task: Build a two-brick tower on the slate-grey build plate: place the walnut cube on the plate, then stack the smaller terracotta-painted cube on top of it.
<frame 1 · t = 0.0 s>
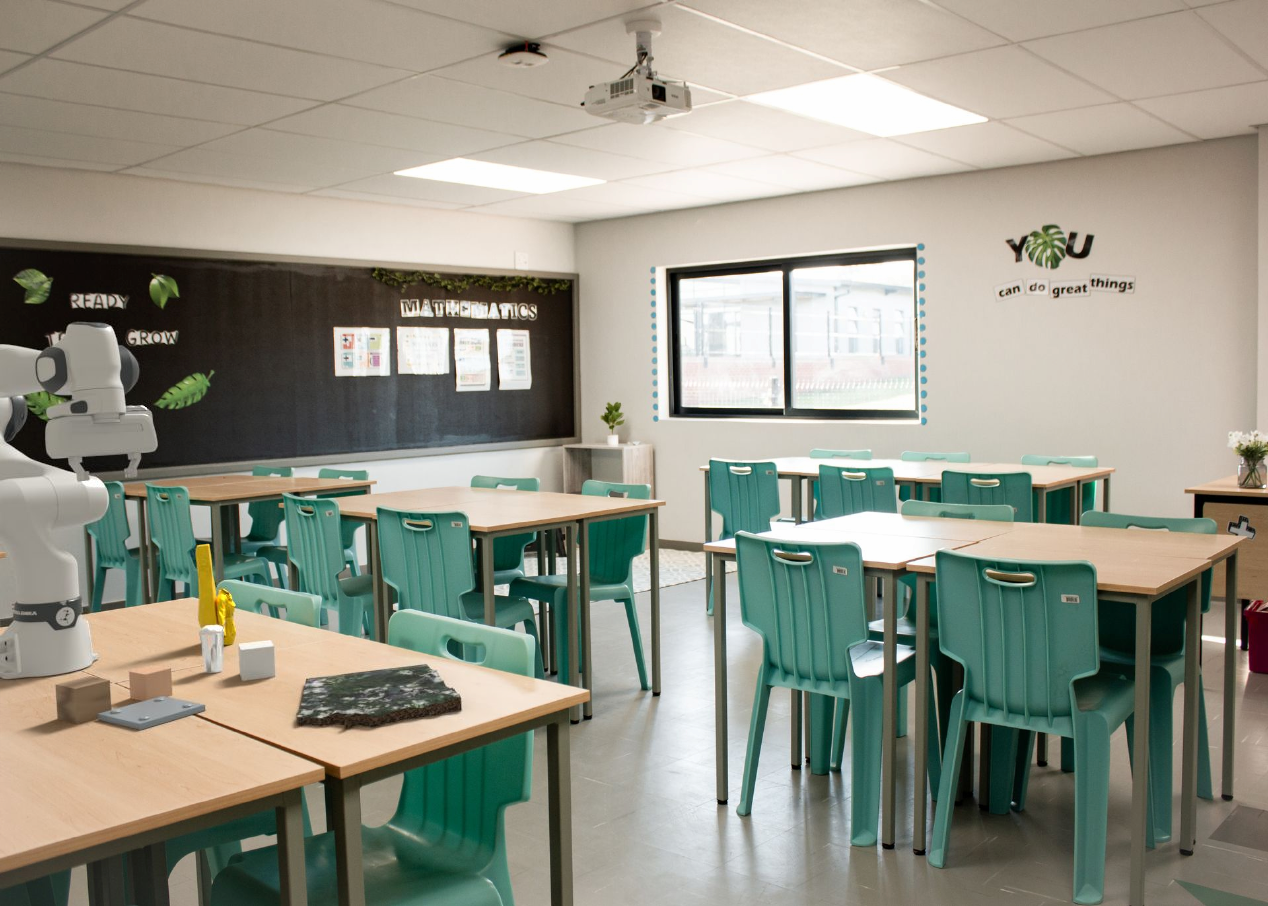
hand: (107, 479, 201), 39 cm above the table, tool pointing down, fingers open, 8 cm apart
topographical map: (371, 704, 187), on the table
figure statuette: (218, 644, 235), on the table
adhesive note: (257, 676, 206), on the table
build plate: (152, 714, 181), on the table
milkshake: (215, 672, 210), on the table
block b: (151, 697, 193), on the table
block a: (84, 717, 181), on the table
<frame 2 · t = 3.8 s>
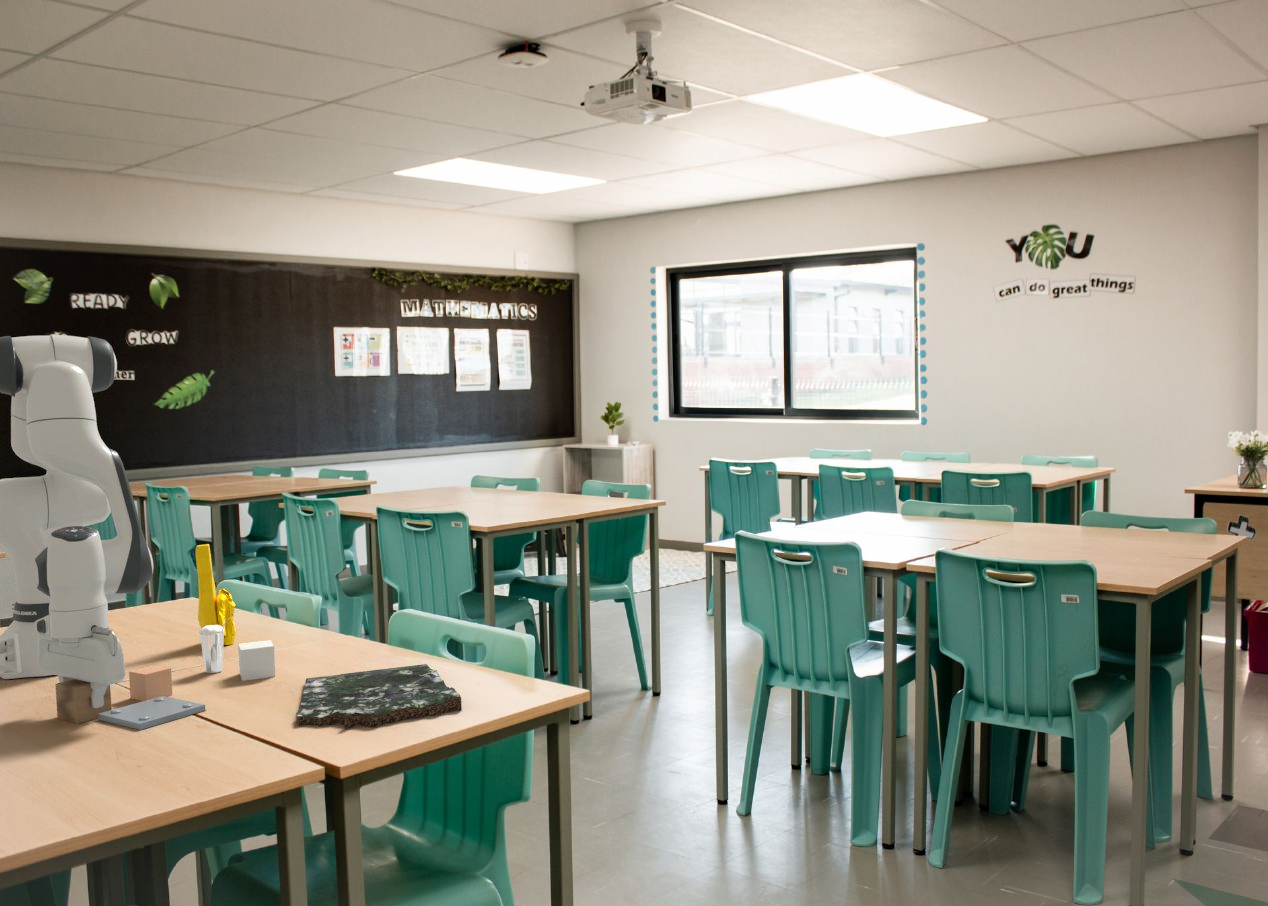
hand: (84, 704, 181), 2 cm above the table, tool pointing down, fingers closed on block a, 6 cm apart
block a: (84, 716, 181), on the table, touching gripper
everything else where it was.
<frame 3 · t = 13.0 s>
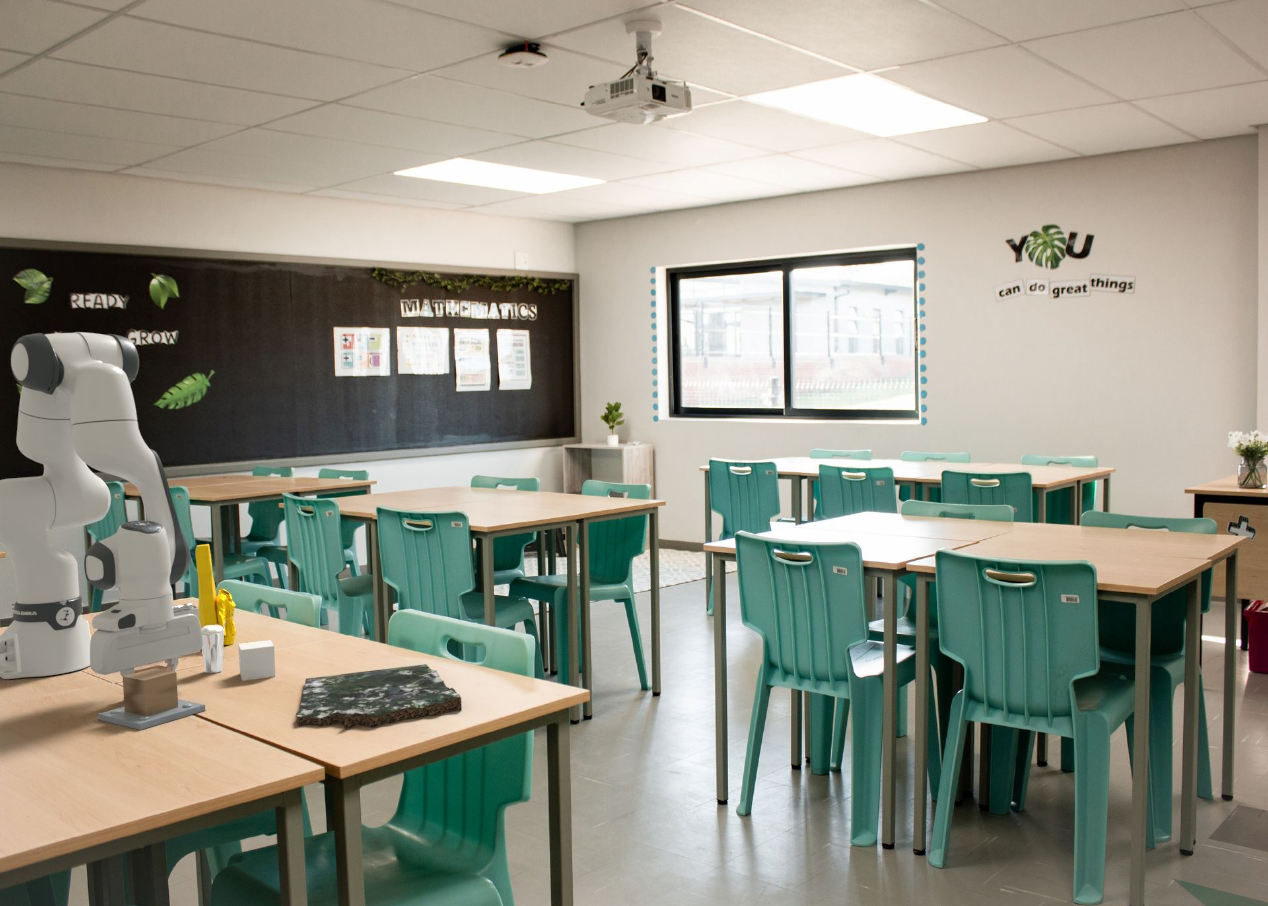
hand: (151, 687, 193), 2 cm above the table, tool pointing down, fingers closed on block b, 5 cm apart
block b: (151, 696, 193), on the table, touching gripper
block a: (151, 709, 181), point 1 cm above the table, touching build plate
everything else where it was.
when the fingers open (10 cm above the table, at t = 17.6 s): block b stays where it is, resting on block a.
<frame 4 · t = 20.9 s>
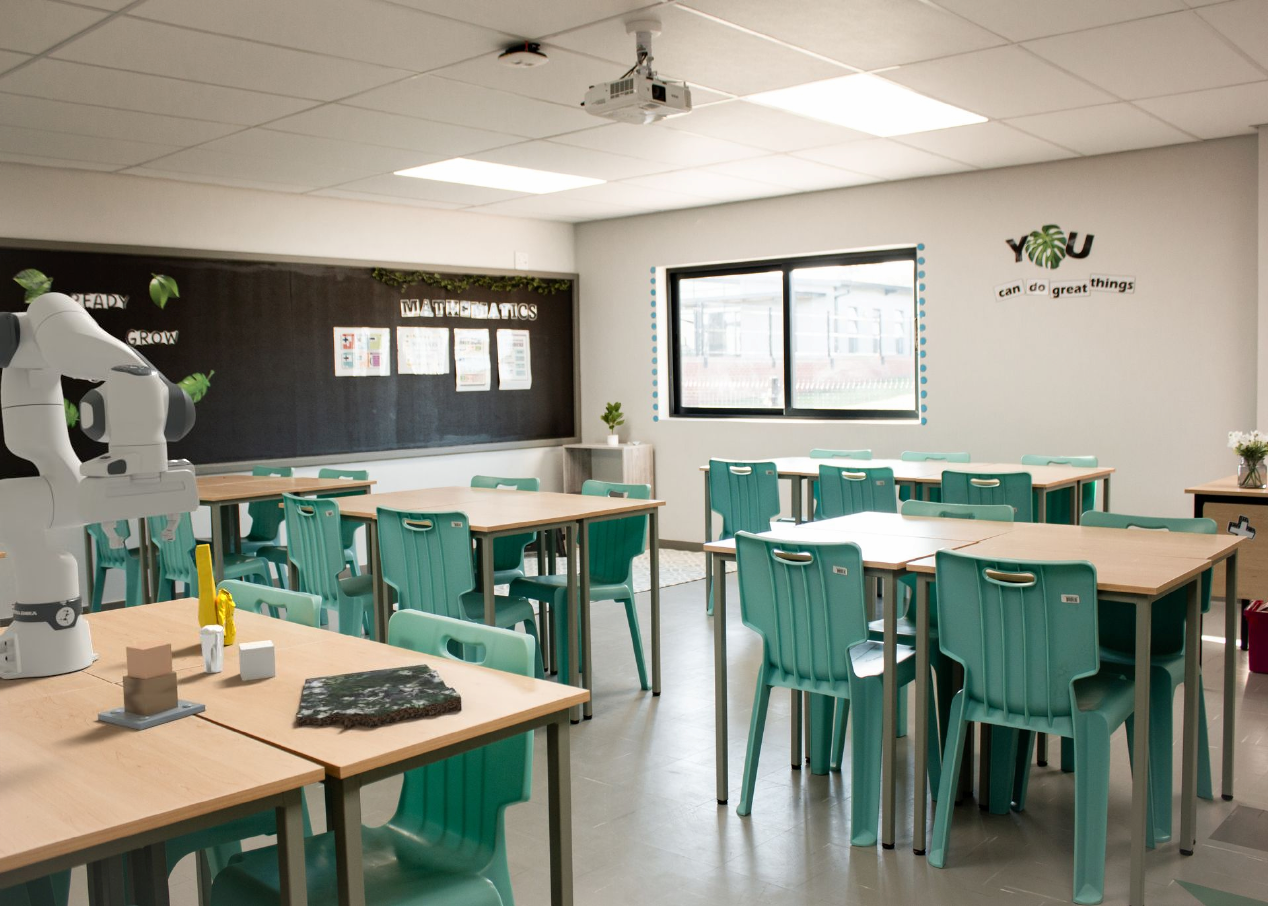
hand: (143, 544, 179), 29 cm above the table, tool pointing down, fingers open, 8 cm apart
block b: (150, 674, 181), point 7 cm above the table, touching block a
block a: (151, 709, 181), point 1 cm above the table, touching block b, build plate
everything else where it was.
at the end: block a inside the target area on the build plate (0.1 cm from its centre), point 1.0 cm above the build plate's base; block b 0.1 cm off-centre on the block a, point 6.0 cm above the block a's base; block b tilted 0° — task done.
